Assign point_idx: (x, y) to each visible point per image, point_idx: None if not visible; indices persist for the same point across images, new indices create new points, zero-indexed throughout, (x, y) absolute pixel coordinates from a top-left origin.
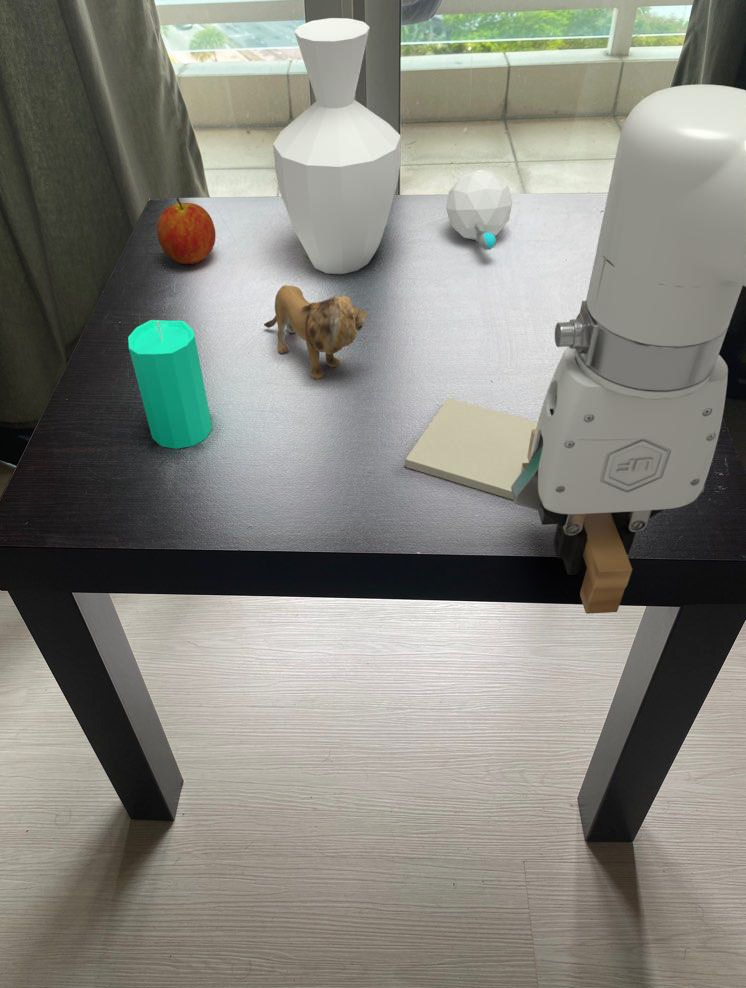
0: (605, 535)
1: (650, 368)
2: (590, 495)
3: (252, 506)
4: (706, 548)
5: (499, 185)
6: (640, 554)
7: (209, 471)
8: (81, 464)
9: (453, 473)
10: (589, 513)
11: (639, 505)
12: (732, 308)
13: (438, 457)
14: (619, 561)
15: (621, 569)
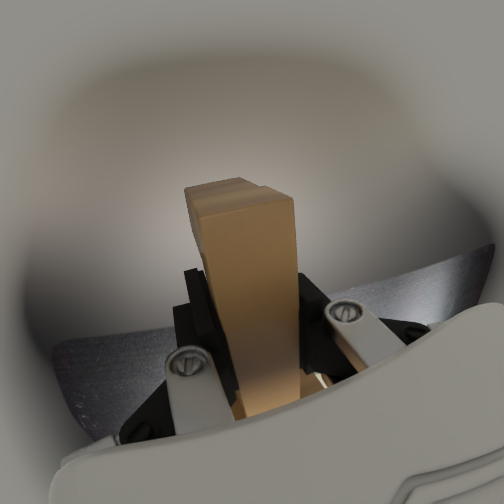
0: (257, 322)
1: None
2: (498, 380)
3: (430, 297)
4: (72, 349)
5: None
6: (133, 334)
7: (438, 316)
8: (471, 298)
9: (316, 374)
10: (281, 366)
11: (285, 446)
12: None
13: (324, 383)
14: (232, 243)
15: (230, 213)
